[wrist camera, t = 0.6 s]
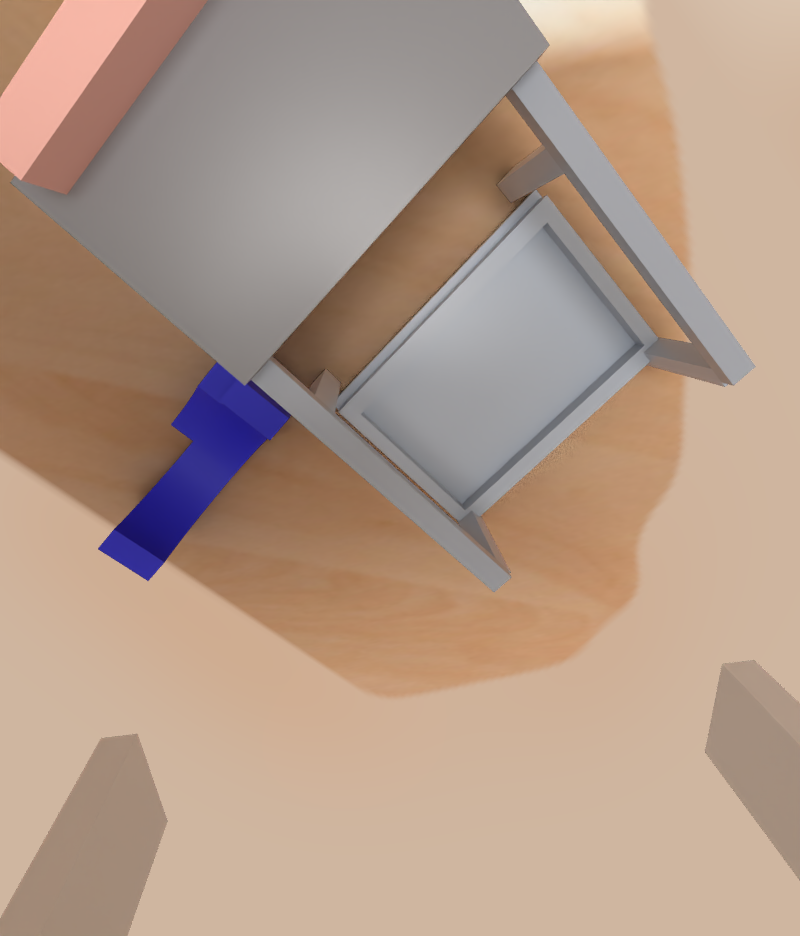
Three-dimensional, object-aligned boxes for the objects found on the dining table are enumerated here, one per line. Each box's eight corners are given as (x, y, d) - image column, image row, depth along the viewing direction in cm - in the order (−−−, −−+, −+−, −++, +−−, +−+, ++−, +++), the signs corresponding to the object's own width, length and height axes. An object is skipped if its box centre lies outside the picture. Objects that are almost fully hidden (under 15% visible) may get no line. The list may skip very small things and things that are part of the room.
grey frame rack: (131, 218, 26) (33, 189, 18) (340, -54, 23) (329, -229, 15) (465, 523, 34) (497, 595, 26) (656, 349, 31) (759, 371, 23)
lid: (28, 188, 18) (-46, 166, 15) (329, -239, 15) (319, -387, 12) (249, 381, 21) (229, 398, 18) (539, 57, 18) (580, 6, 15)
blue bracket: (240, 342, 29) (211, 355, 23) (302, 394, 30) (289, 418, 25) (123, 488, 31) (71, 532, 26) (184, 530, 33) (148, 580, 27)
